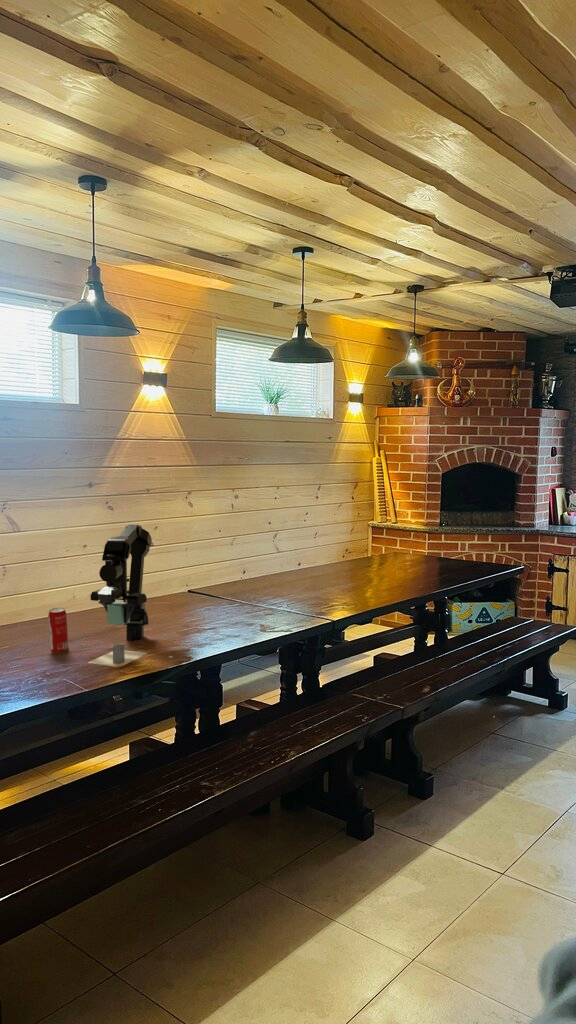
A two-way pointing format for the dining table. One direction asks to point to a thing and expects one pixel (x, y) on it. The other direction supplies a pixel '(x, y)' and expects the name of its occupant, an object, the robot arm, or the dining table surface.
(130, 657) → the board
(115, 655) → the post
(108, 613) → the teal rectangular block
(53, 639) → the beverage can
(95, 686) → the dining table surface
